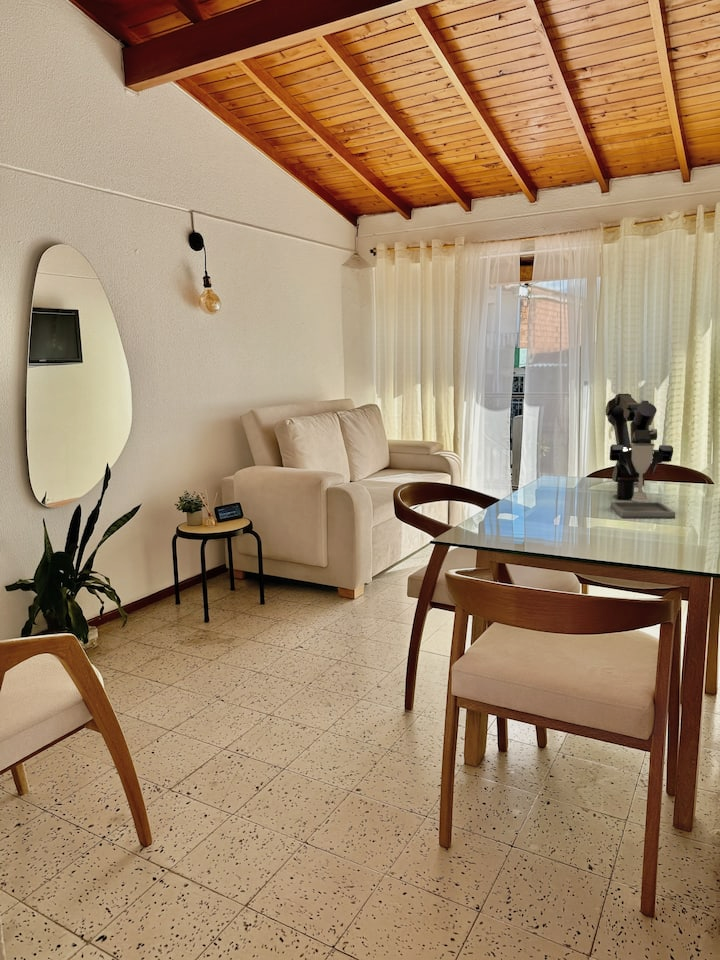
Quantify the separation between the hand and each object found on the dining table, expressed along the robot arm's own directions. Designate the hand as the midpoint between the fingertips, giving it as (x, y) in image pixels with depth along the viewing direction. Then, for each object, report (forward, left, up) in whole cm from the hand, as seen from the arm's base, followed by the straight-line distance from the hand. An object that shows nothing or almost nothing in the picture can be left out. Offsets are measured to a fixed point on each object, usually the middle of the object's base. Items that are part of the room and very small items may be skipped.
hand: (641, 474), depth 216 cm
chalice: (-1, 0, -9) cm, 9 cm away
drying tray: (-3, +1, -13) cm, 14 cm away
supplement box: (-50, +10, -13) cm, 53 cm away
